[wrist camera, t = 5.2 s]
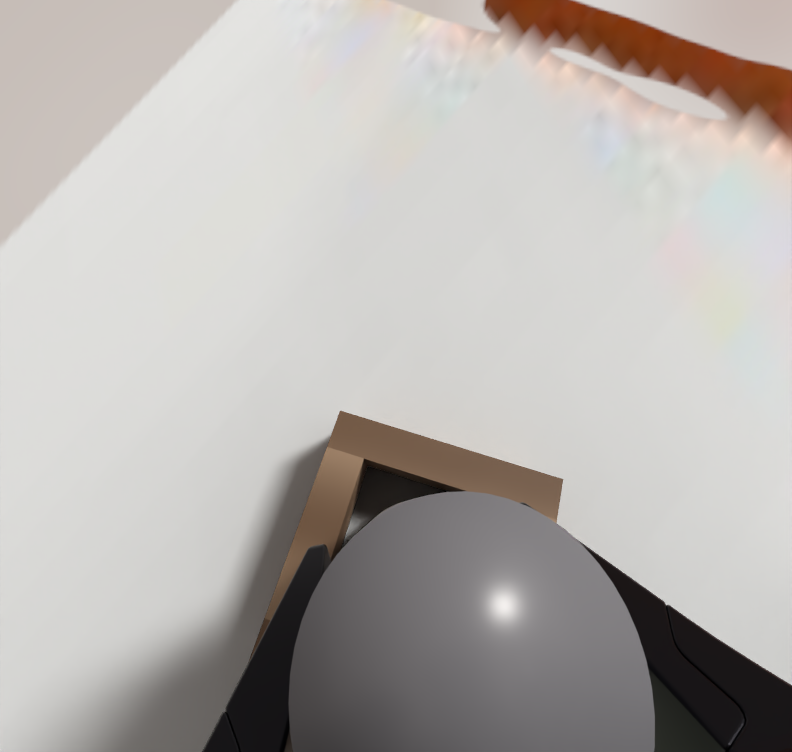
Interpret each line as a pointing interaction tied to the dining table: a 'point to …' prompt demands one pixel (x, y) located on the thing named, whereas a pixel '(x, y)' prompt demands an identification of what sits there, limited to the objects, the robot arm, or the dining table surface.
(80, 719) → the dining table surface
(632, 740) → the plug
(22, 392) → the dining table surface
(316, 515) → the walnut collar
